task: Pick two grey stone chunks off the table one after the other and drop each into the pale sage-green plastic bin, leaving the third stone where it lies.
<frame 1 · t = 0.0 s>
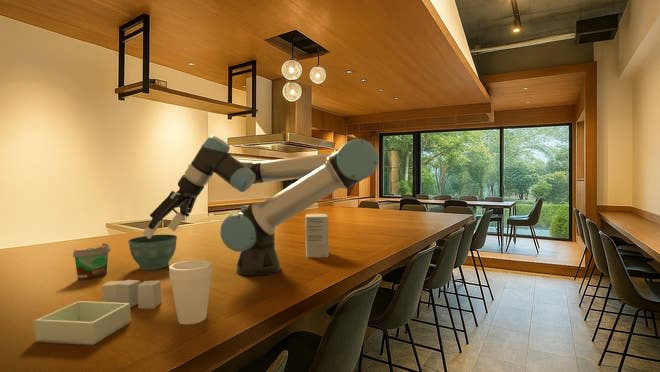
hand: (159, 232, 117), 15 cm above the kitchen island counter, tool tilted 35°, fingers open, 13 cm apart
food container: (97, 276, 121), on the kitchen island counter
bin: (85, 331, 79), on the kitchen island counter
stone c: (113, 301, 98), on the kitchen island counter
supplement box: (316, 255, 150), on the kitchen island counter
stone b: (128, 304, 95), on the kitchen island counter
stone a: (150, 305, 94), on the kitchen island counter
foam cup: (192, 319, 85), on the kitchen island counter
flower pot: (154, 267, 133), on the kitchen island counter
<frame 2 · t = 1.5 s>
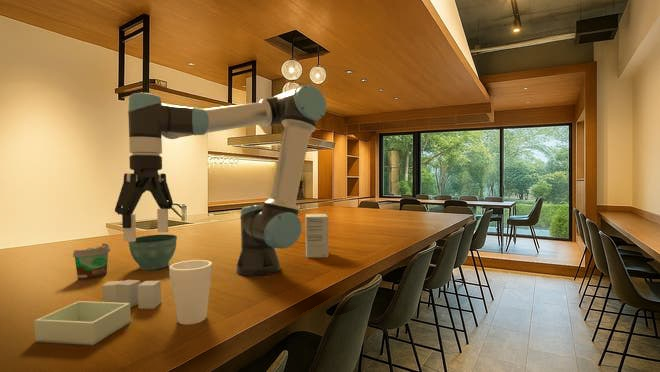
hand: (147, 236, 93), 18 cm above the kitchen island counter, tool pointing down, fingers open, 13 cm apart
nothing on the kitchen island counter moved.
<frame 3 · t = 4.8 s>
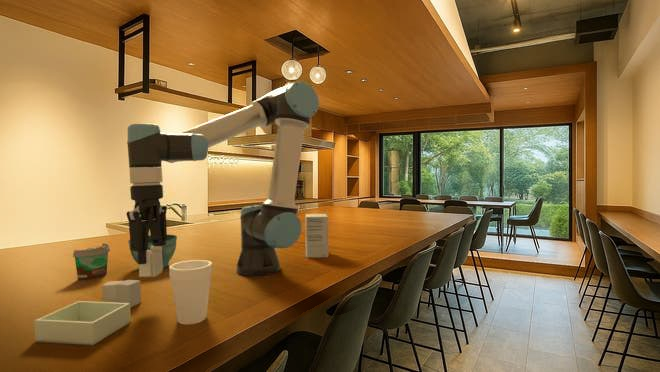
hand: (151, 272, 94), 9 cm above the kitchen island counter, tool pointing down, fingers closed on stone a, 4 cm apart
stone a: (150, 274, 94), point 8 cm above the kitchen island counter, touching gripper
everything else where it was.
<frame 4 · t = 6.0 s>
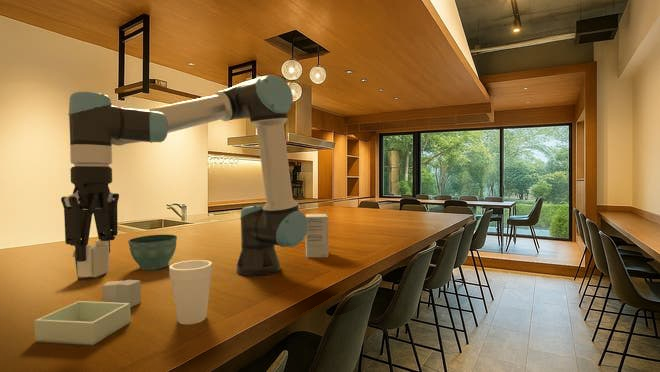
hand: (94, 272, 78), 13 cm above the kitchen island counter, tool pointing down, fingers closed on stone a, 4 cm apart
stone a: (93, 274, 78), point 13 cm above the kitchen island counter, touching gripper
everything else where it was.
when the fingers open (6 cm above the kitchen island counter, at t = 7.3 s): stone a drops 5 cm, resting on bin.
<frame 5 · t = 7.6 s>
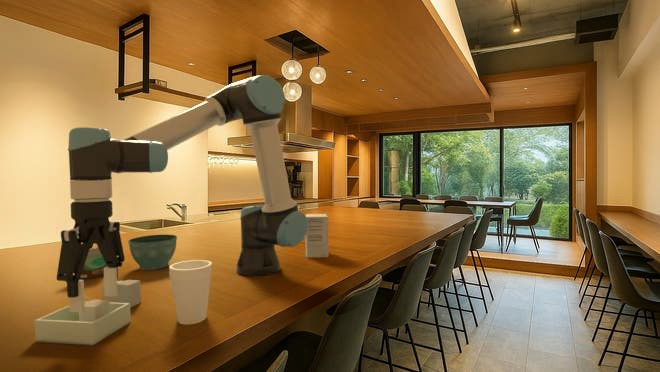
hand: (95, 303, 78), 6 cm above the kitchen island counter, tool pointing down, fingers open, 9 cm apart
stone a: (95, 330, 78), resting on bin
everything else where it was.
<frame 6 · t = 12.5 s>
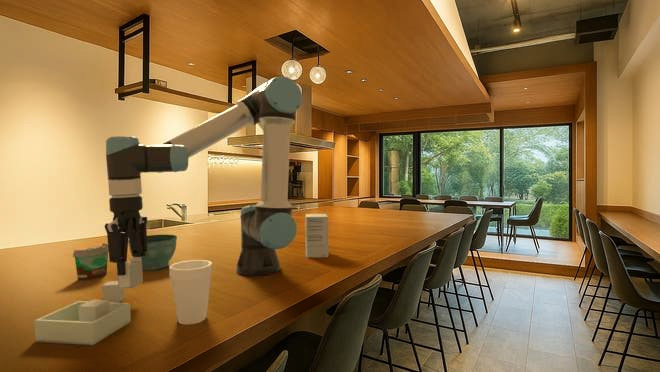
hand: (131, 283, 95), 5 cm above the kitchen island counter, tool pointing down, fingers closed on stone b, 4 cm apart
stone b: (130, 285, 95), point 5 cm above the kitchen island counter, touching gripper
everything else where it was.
when the fingers open (6 cm above the kitchen island counter, at t = 15.1 s): stone b drops 5 cm, resting on bin.
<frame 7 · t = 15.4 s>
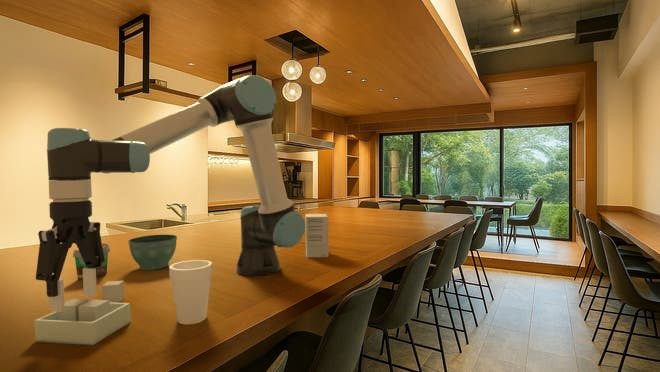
hand: (74, 302, 79), 6 cm above the kitchen island counter, tool pointing down, fingers open, 8 cm apart
stone b: (74, 329, 79), resting on bin
everything else where it was.
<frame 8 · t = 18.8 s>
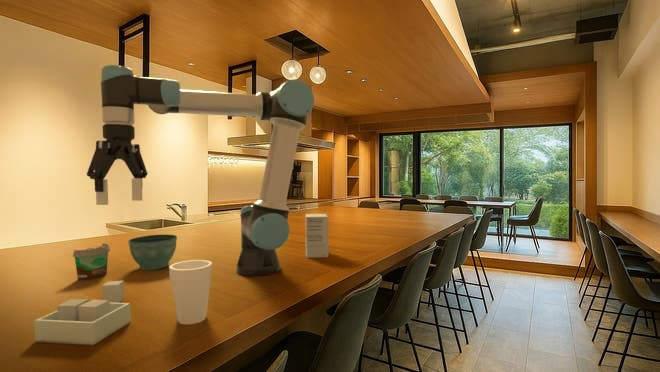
hand: (121, 202, 98), 27 cm above the kitchen island counter, tool pointing down, fingers open, 13 cm apart
nothing on the kitchen island counter moved.
at the end: stone a inside the target area on the bin (2.3 cm from its centre), point 0.4 cm above the bin's base; stone b inside the target area on the bin (2.7 cm from its centre), point 0.4 cm above the bin's base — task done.
